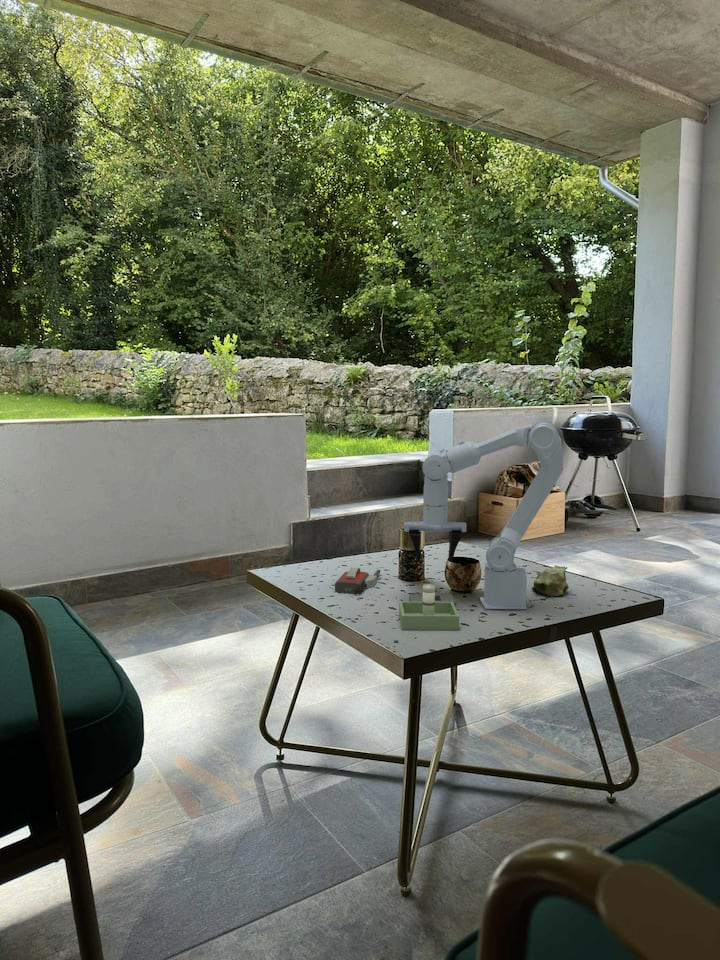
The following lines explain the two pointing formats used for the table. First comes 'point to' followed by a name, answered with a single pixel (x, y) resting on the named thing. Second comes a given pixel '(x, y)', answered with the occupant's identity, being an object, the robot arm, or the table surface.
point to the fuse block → (437, 598)
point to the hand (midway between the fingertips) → (434, 561)
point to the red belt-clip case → (355, 581)
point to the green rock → (551, 581)
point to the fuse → (428, 599)
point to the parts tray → (428, 616)
